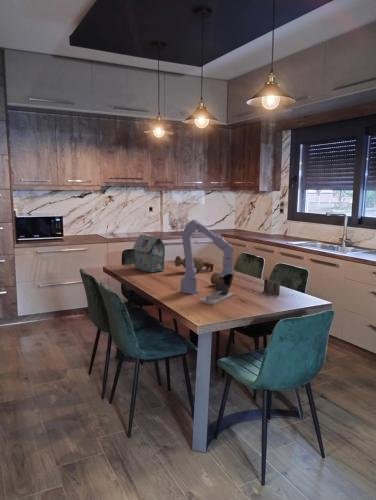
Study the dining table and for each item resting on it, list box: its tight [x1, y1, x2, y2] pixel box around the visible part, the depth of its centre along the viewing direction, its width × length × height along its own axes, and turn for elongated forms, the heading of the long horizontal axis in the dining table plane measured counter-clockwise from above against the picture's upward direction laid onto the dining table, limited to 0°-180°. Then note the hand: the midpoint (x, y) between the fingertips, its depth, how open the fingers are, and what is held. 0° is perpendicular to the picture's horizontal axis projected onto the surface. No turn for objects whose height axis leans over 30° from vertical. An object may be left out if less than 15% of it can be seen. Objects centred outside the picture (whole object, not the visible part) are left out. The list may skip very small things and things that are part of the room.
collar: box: [216, 284, 229, 295], centre depth 235 cm, size 3×6×5 cm, turn 56°
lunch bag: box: [133, 234, 166, 273], centre depth 303 cm, size 23×16×27 cm
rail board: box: [198, 290, 235, 306], centre depth 231 cm, size 24×10×4 cm, turn 146°
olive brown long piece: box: [174, 255, 215, 272], centre depth 300 cm, size 10×12×30 cm
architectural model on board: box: [263, 276, 281, 296], centre depth 245 cm, size 11×3×10 cm, turn 29°
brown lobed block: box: [210, 272, 234, 289], centre depth 256 cm, size 9×16×10 cm, turn 33°
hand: (227, 286), depth 240 cm, fingers closed
